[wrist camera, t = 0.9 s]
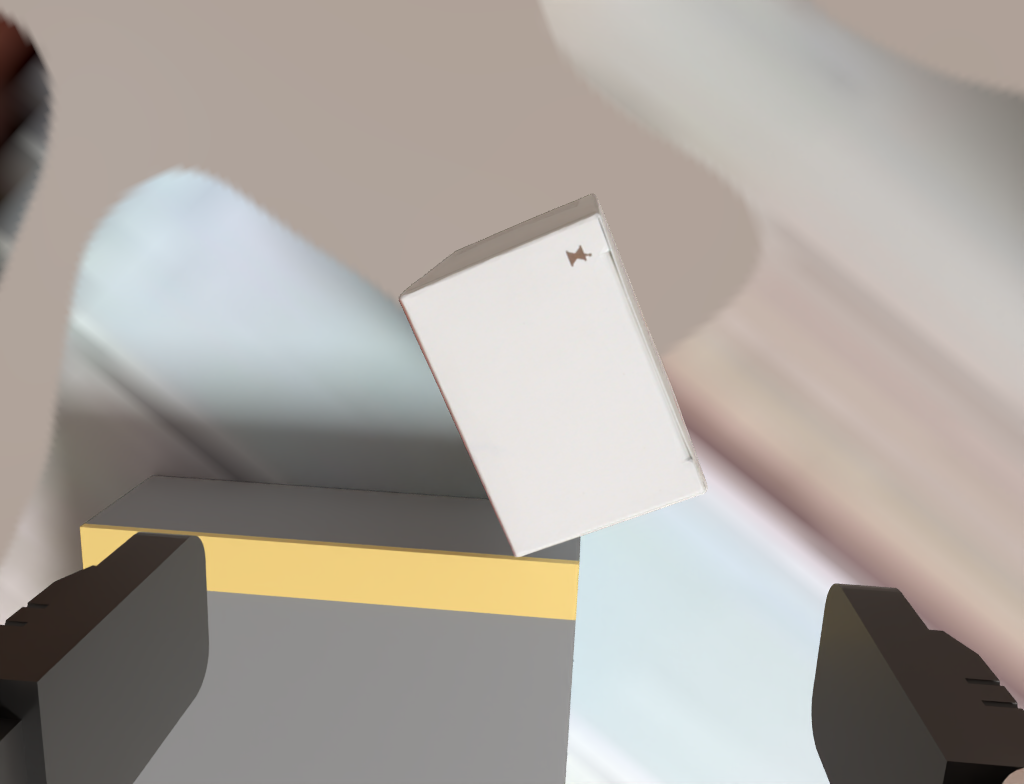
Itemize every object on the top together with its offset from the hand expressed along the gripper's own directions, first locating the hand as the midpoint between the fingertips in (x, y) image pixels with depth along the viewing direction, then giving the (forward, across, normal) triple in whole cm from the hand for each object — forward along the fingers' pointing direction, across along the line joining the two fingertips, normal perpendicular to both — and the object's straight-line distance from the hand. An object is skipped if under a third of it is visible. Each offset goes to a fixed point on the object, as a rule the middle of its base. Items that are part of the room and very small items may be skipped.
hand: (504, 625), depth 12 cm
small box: (+23, 0, 0) cm, 23 cm away
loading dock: (+23, +7, +15) cm, 28 cm away
